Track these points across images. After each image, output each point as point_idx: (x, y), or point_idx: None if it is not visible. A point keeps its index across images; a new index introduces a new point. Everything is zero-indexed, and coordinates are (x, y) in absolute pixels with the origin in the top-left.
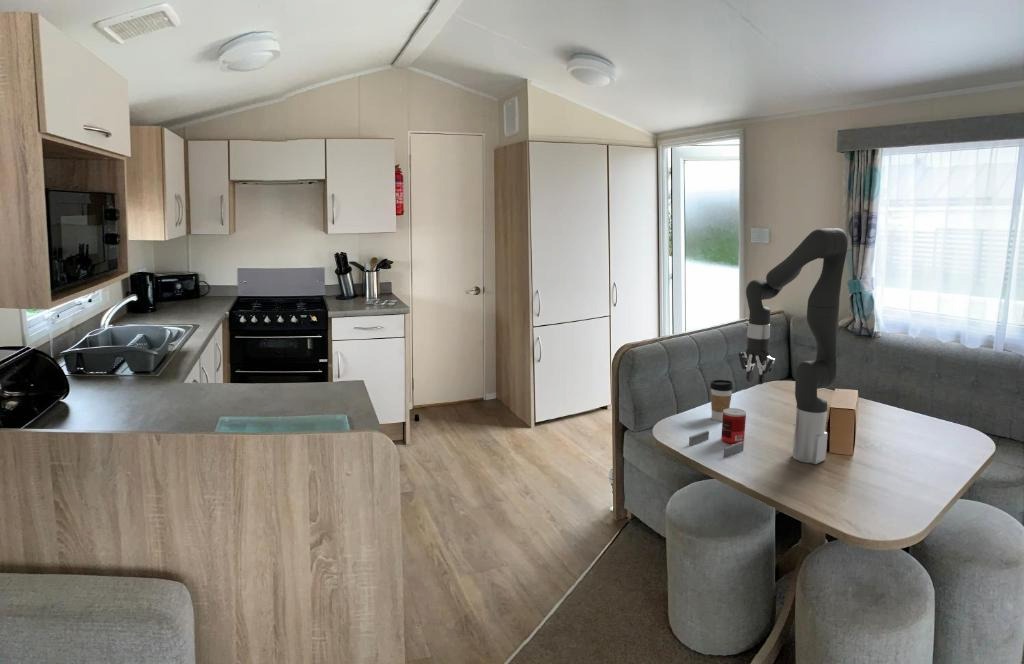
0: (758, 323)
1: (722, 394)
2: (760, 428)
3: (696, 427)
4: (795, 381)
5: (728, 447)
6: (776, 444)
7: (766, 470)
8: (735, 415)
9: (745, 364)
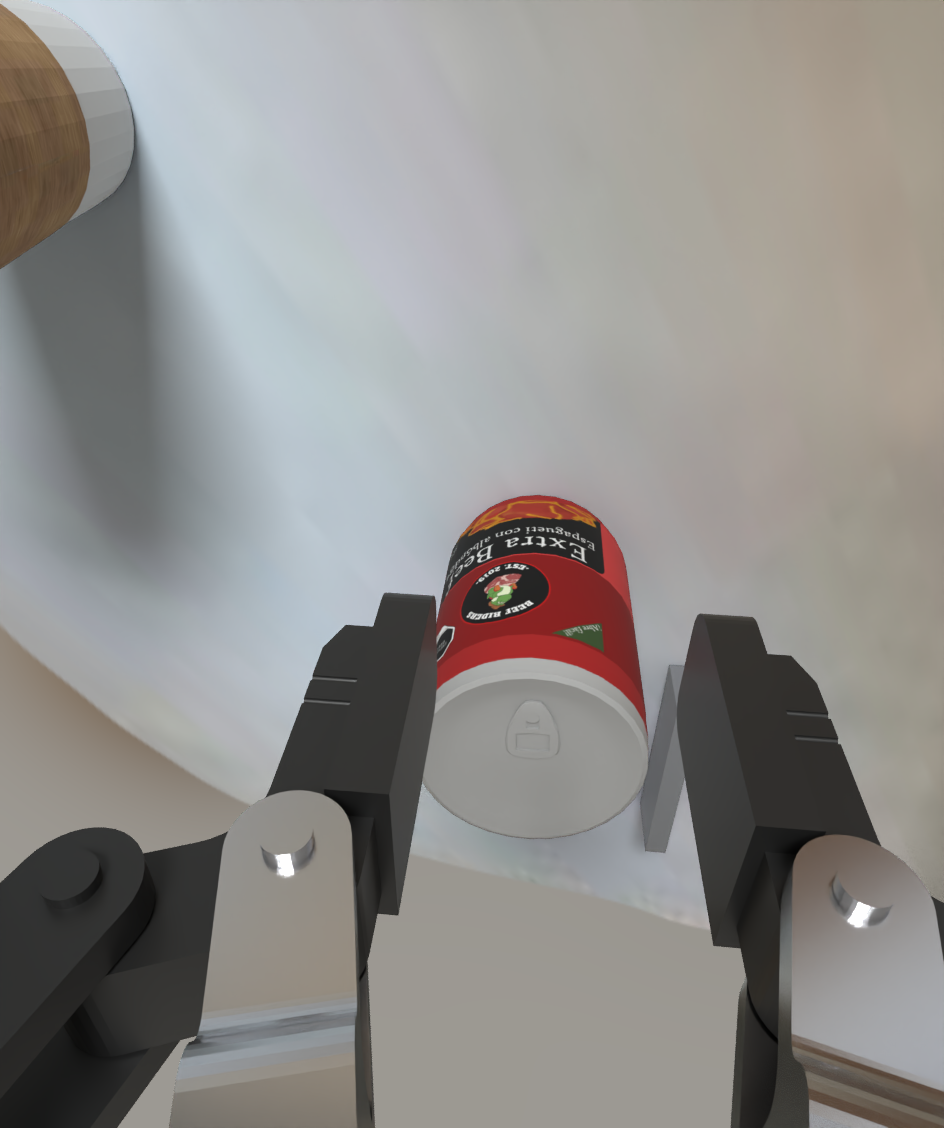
0: None
1: None
2: (546, 37)
3: (153, 506)
4: None
5: (660, 829)
6: (874, 388)
7: (937, 816)
8: (593, 823)
9: (8, 981)
